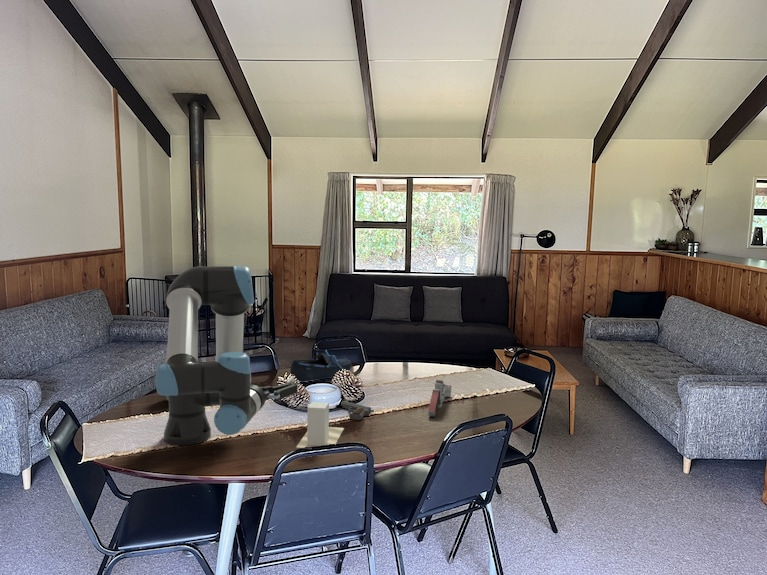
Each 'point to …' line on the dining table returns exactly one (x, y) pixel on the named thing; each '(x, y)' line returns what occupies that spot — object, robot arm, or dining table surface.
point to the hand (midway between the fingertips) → (271, 378)
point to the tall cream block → (318, 423)
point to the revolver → (438, 397)
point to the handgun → (356, 410)
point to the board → (333, 437)
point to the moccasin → (318, 367)
